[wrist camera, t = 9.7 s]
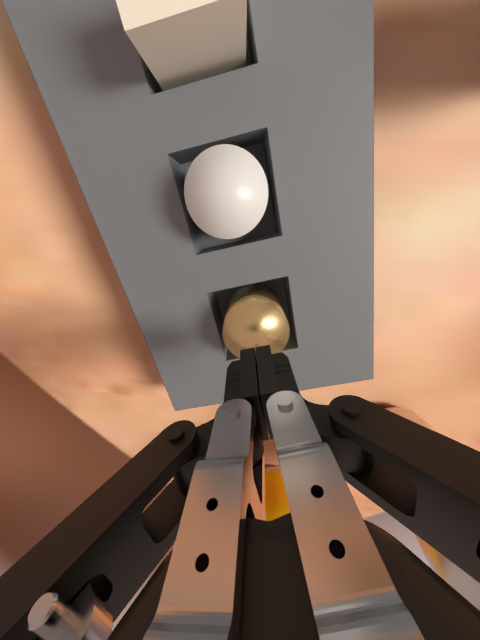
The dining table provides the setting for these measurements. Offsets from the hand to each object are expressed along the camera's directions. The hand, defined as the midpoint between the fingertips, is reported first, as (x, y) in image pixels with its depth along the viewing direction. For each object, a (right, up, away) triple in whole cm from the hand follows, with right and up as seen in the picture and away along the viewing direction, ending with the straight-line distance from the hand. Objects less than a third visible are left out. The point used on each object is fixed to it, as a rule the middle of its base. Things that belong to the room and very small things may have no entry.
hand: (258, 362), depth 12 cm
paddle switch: (-3, +16, +1) cm, 17 cm away
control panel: (-2, +11, +5) cm, 12 cm away
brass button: (0, +3, +6) cm, 7 cm away
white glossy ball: (-2, +10, +3) cm, 10 cm away
